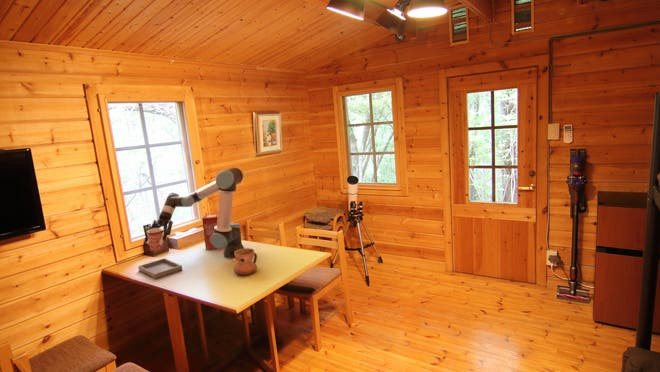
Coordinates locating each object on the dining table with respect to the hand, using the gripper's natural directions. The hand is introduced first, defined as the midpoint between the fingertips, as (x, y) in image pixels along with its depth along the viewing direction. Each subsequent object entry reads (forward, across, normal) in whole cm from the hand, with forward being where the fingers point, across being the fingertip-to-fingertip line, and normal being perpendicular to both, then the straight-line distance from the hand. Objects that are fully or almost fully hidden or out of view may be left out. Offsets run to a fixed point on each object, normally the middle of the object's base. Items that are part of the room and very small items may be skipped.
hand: (154, 243), depth 259 cm
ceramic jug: (+10, -61, -17) cm, 64 cm away
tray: (+13, -1, -14) cm, 19 cm away
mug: (+1, 0, -6) cm, 6 cm away
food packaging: (-21, -14, -48) cm, 54 cm away
